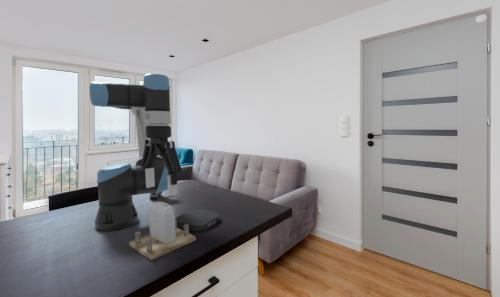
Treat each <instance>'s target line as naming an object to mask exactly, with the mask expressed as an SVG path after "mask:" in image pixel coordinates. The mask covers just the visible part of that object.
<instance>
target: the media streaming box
mask: <svg viewBox="0 0 500 297" xmlns="http://www.w3.org/2000/svg"><path fill="white" fill-rule="evenodd" d="M175 219H176V220H177V228H179V229H184V225H186V224H188V225H189V231H194V232H200V231H205V230H207V229H209V228H210V227H212V226H214V225H215V224H217V223H218V222H220V214H219V213H217V212H215V211H211V210H208V209H194V210H190V211H186V212H183V213H182V214H180V215H178V216H177V217H175Z"/></svg>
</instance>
